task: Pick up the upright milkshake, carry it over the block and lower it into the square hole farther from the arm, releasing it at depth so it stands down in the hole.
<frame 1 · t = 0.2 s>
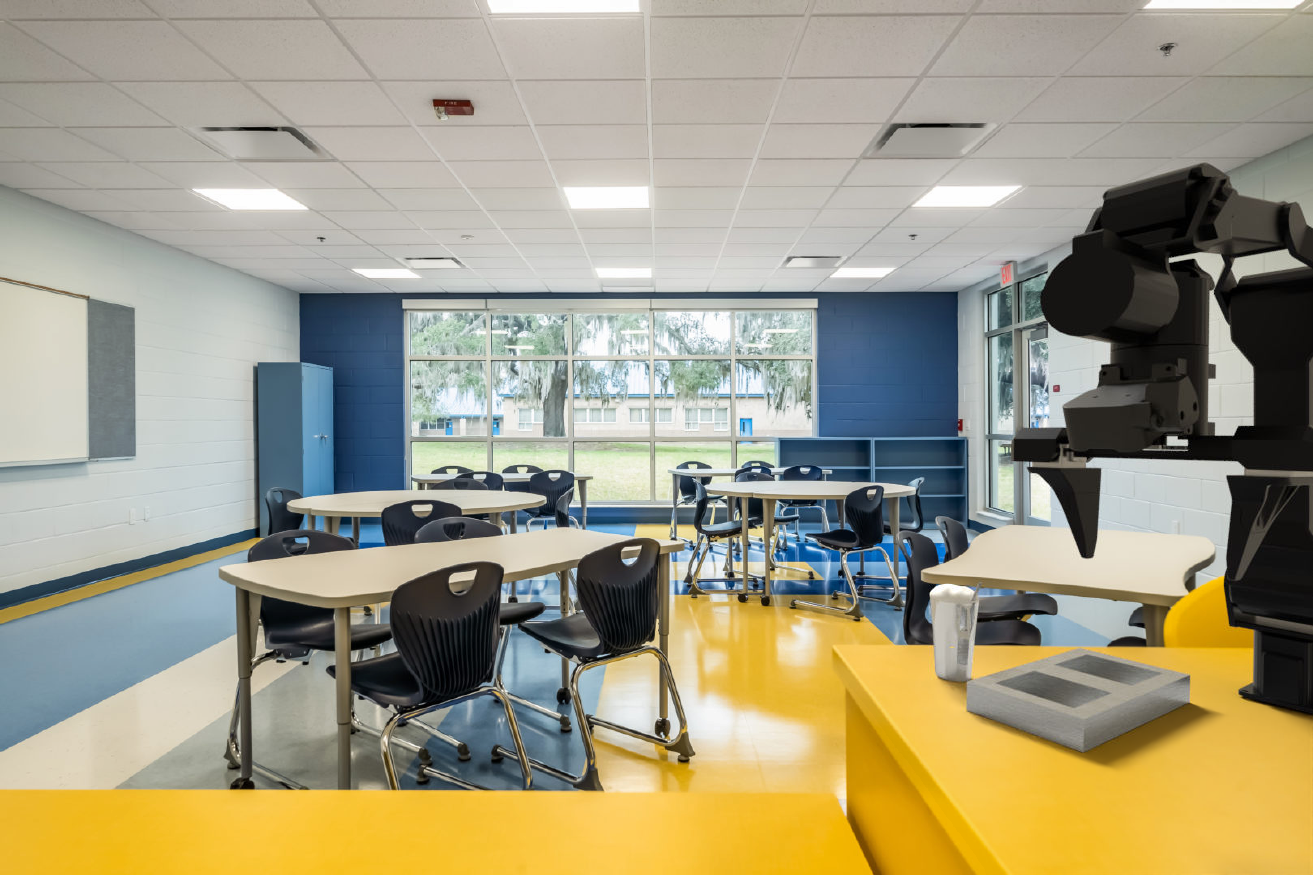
hand: (1154, 568, 49), 15 cm above the table, tool pointing down, fingers open, 9 cm apart
block: (1080, 705, 61), on the table
milkshake: (956, 679, 68), on the table
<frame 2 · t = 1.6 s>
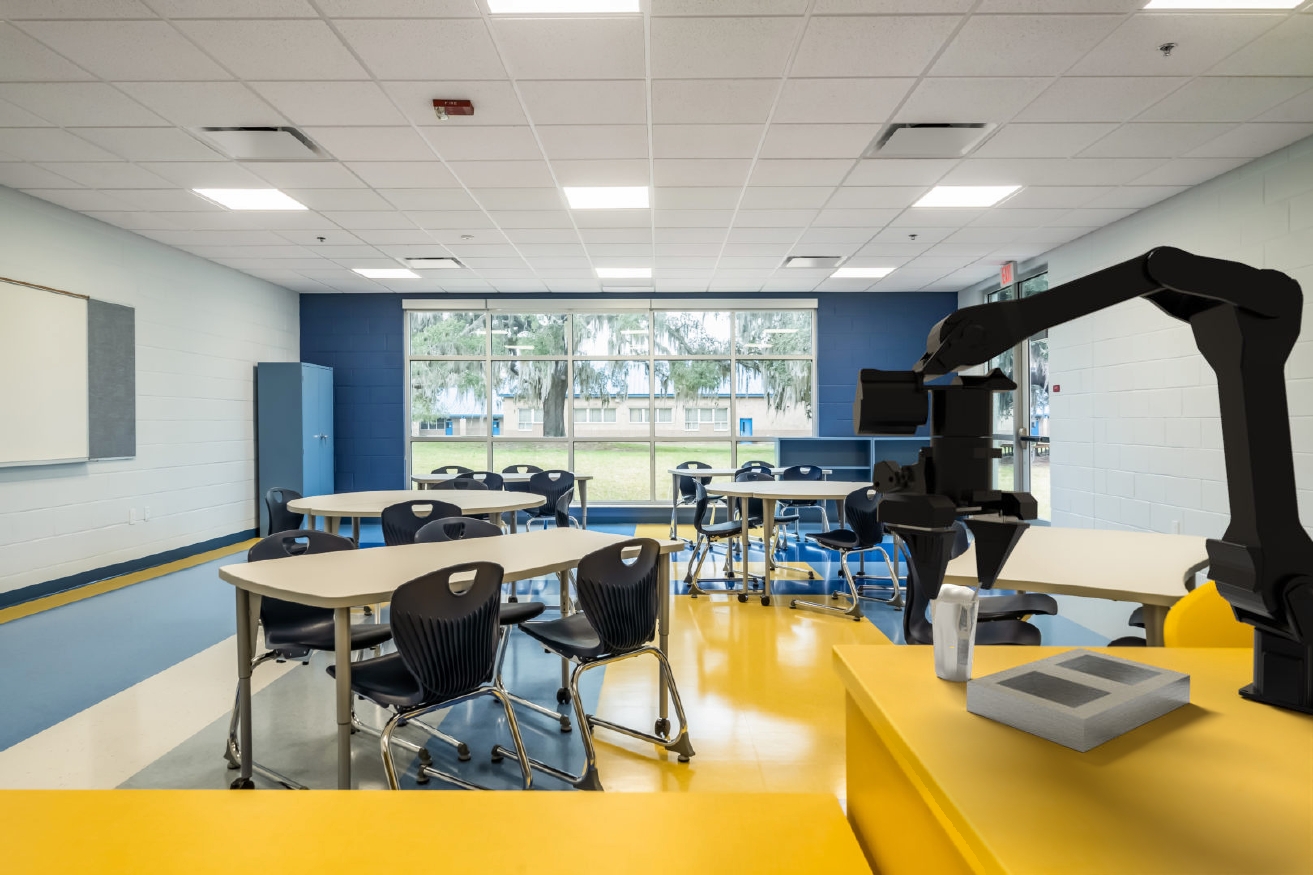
hand: (958, 593, 68), 8 cm above the table, tool pointing down, fingers open, 9 cm apart
nothing on the table moved.
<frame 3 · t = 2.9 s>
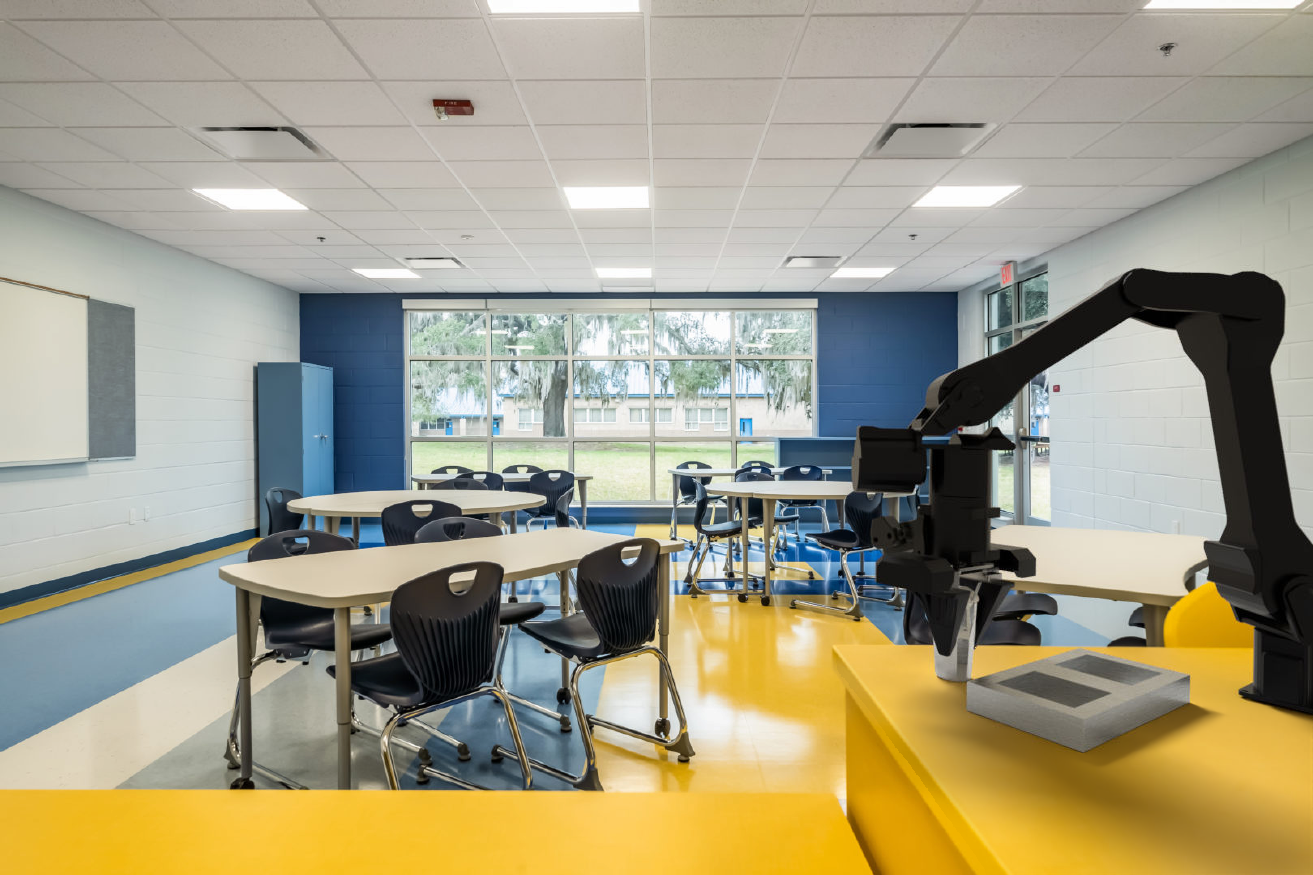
hand: (956, 652, 68), 3 cm above the table, tool pointing down, fingers closed on milkshake, 4 cm apart
milkshake: (956, 679, 68), on the table, touching gripper
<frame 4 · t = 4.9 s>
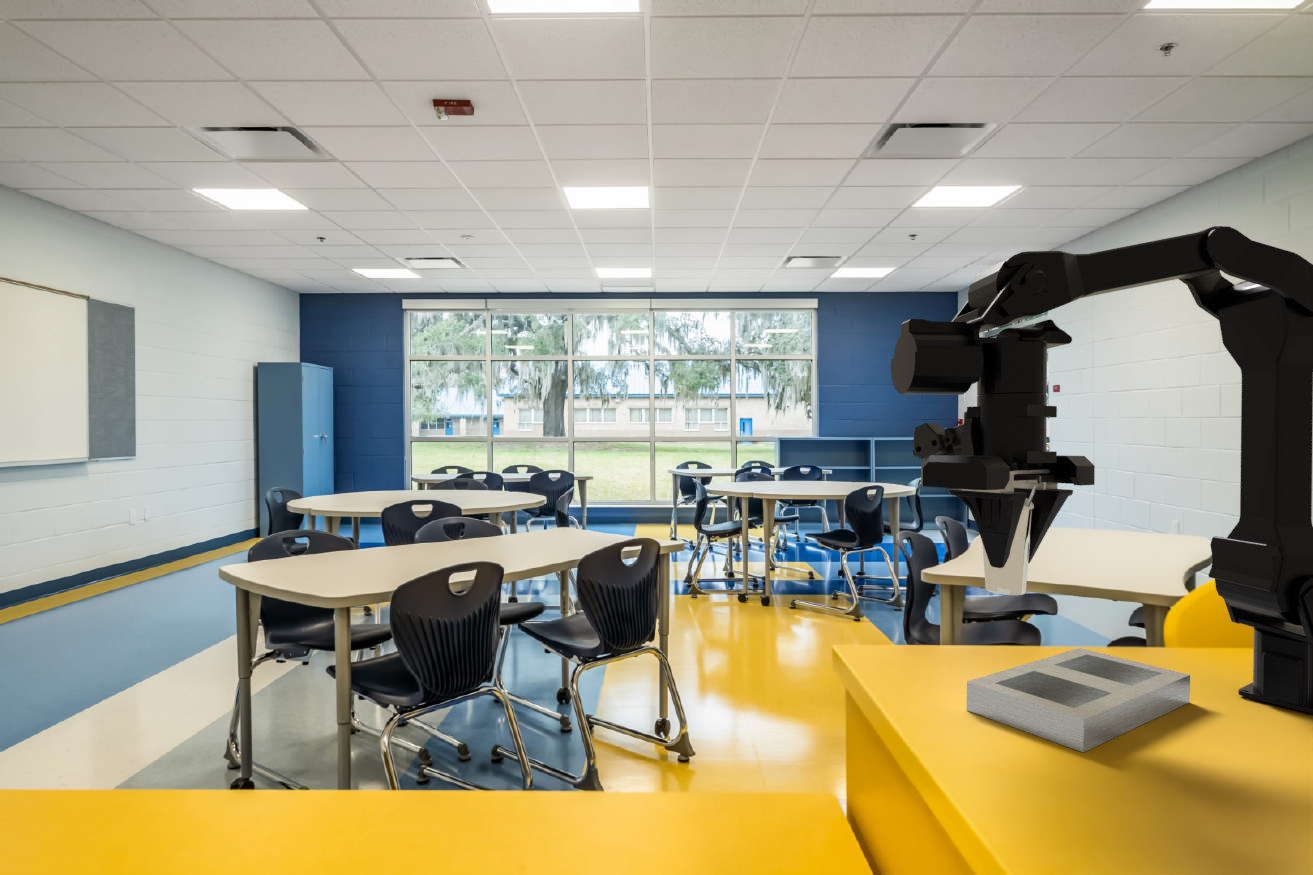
hand: (1010, 565, 63), 12 cm above the table, tool pointing down, fingers closed on milkshake, 4 cm apart
milkshake: (1009, 594, 63), point 9 cm above the table, touching gripper
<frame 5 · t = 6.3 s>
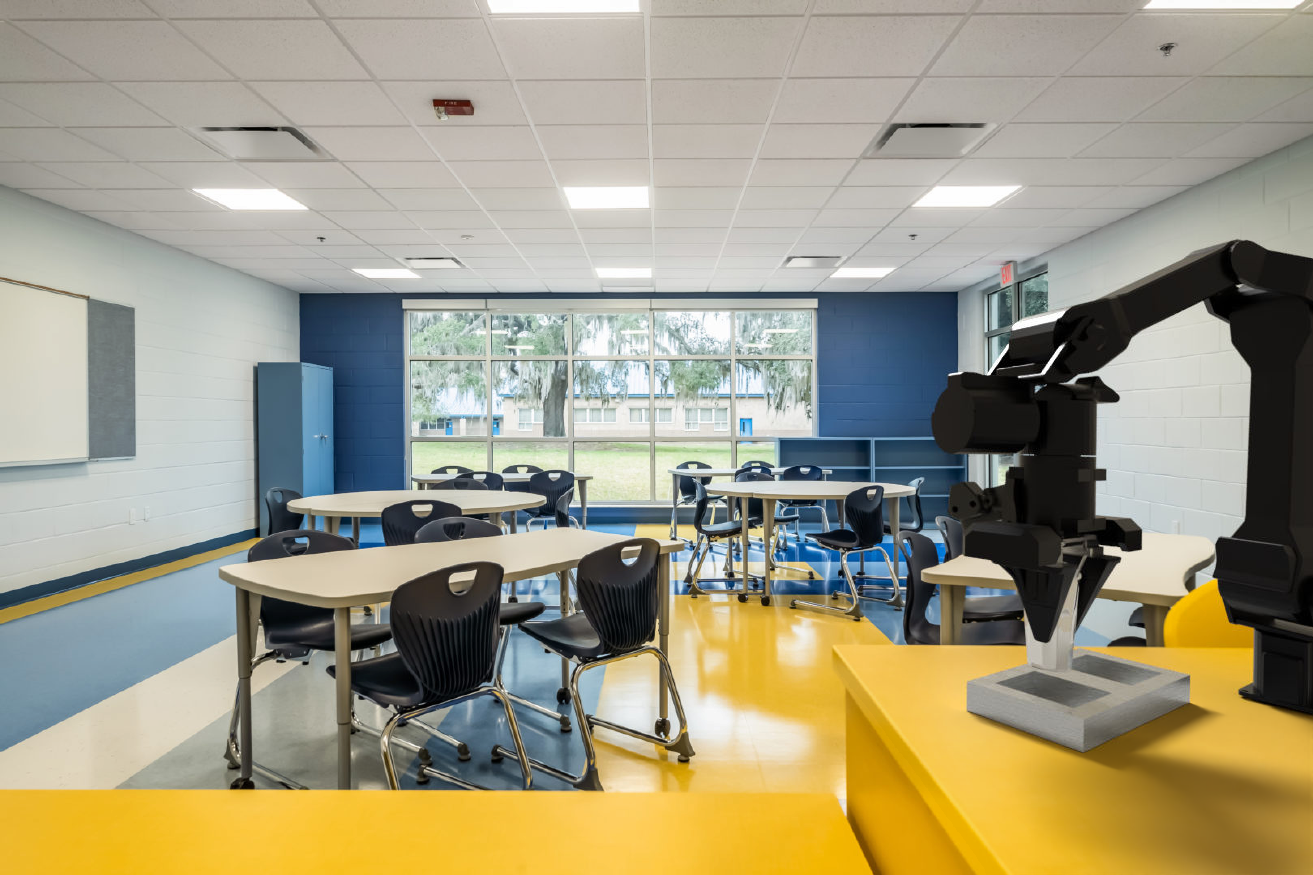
hand: (1054, 638, 59), 7 cm above the table, tool pointing down, fingers closed on milkshake, 4 cm apart
milkshake: (1053, 670, 59), point 4 cm above the table, touching gripper
when the fingers open (4 cm above the table, at t = 7.1 s): milkshake drops 1 cm, resting in block.
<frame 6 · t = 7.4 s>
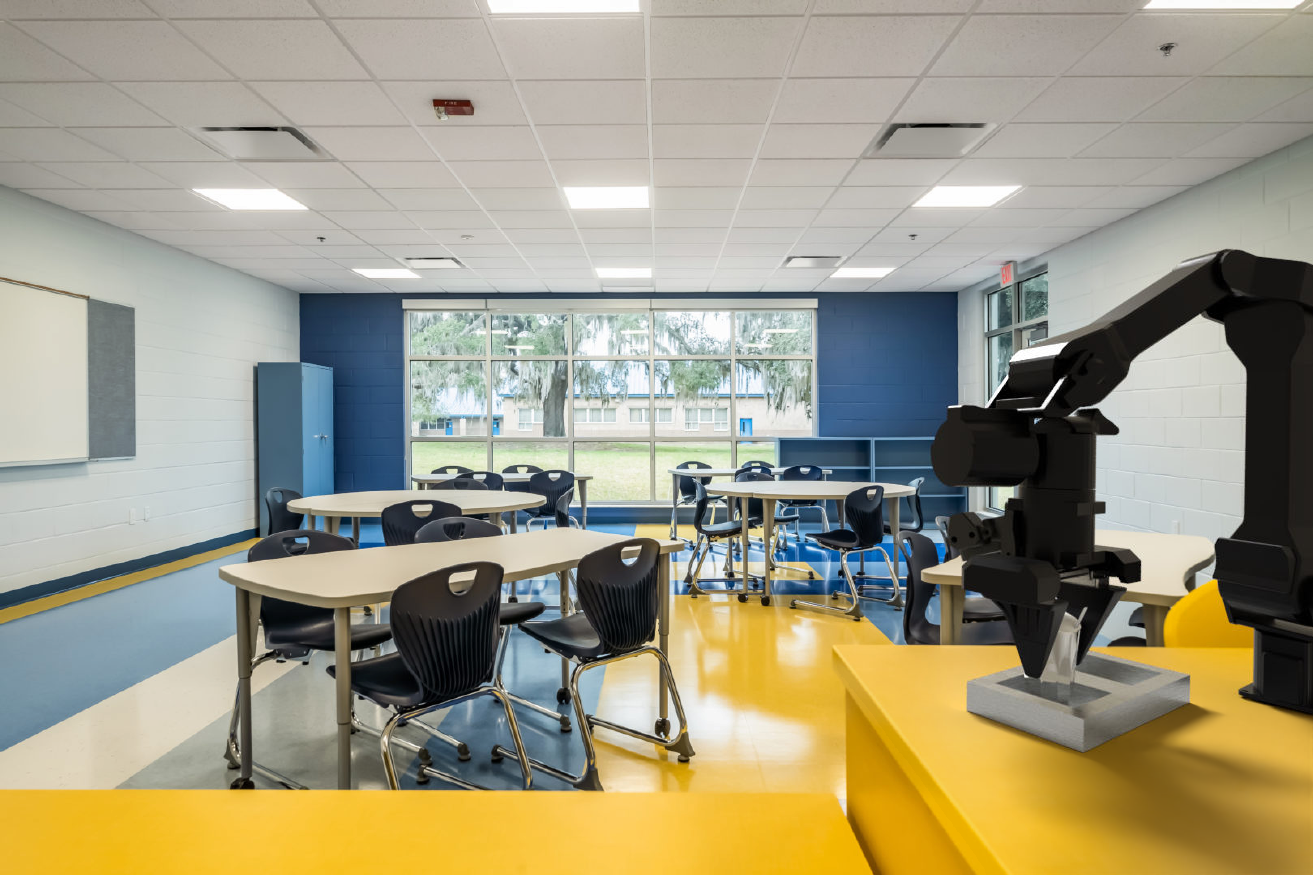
hand: (1053, 670, 59), 4 cm above the table, tool pointing down, fingers open, 6 cm apart
milkshake: (1052, 719, 59), resting in block
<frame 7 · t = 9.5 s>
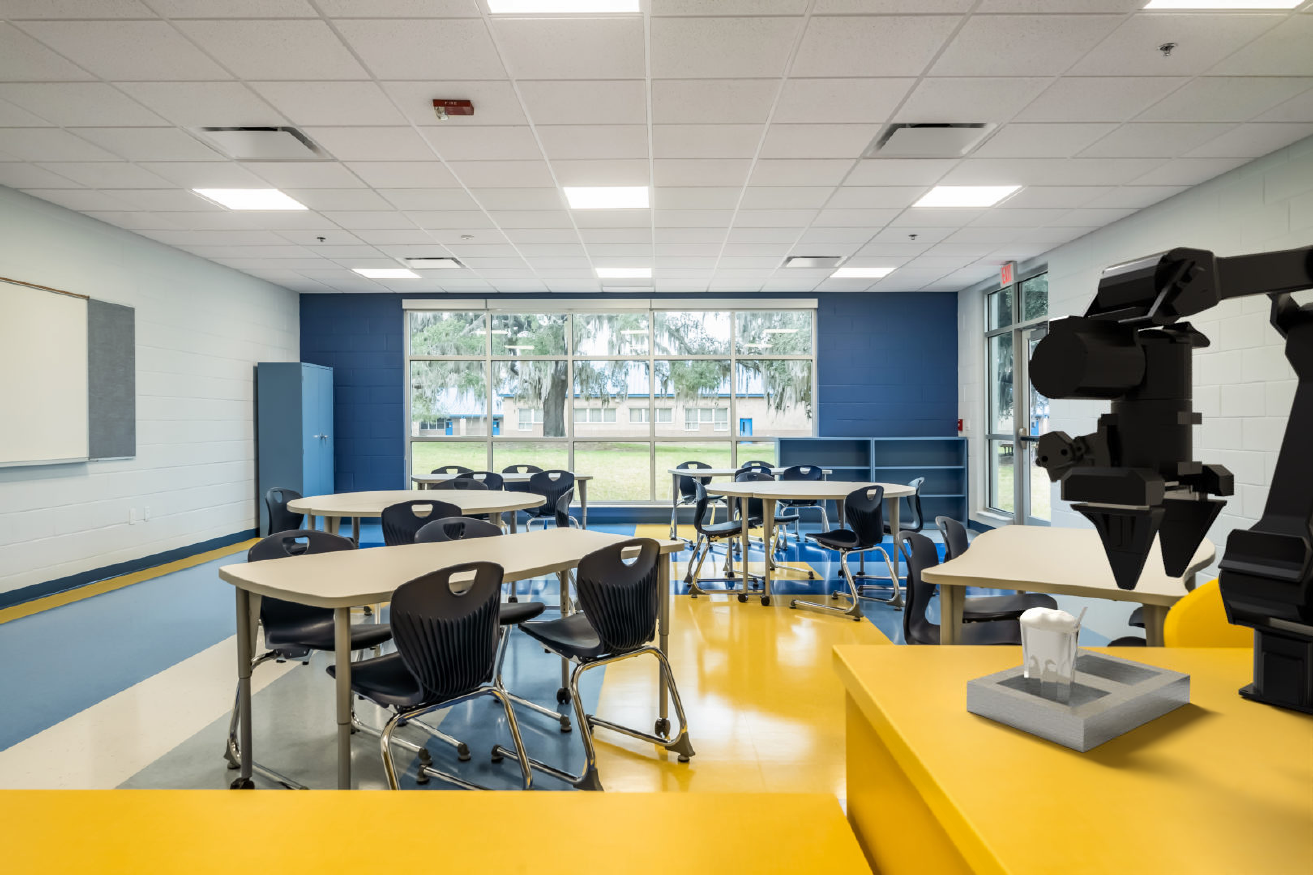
hand: (1150, 583, 59), 12 cm above the table, tool pointing down, fingers open, 9 cm apart
nothing on the table moved.
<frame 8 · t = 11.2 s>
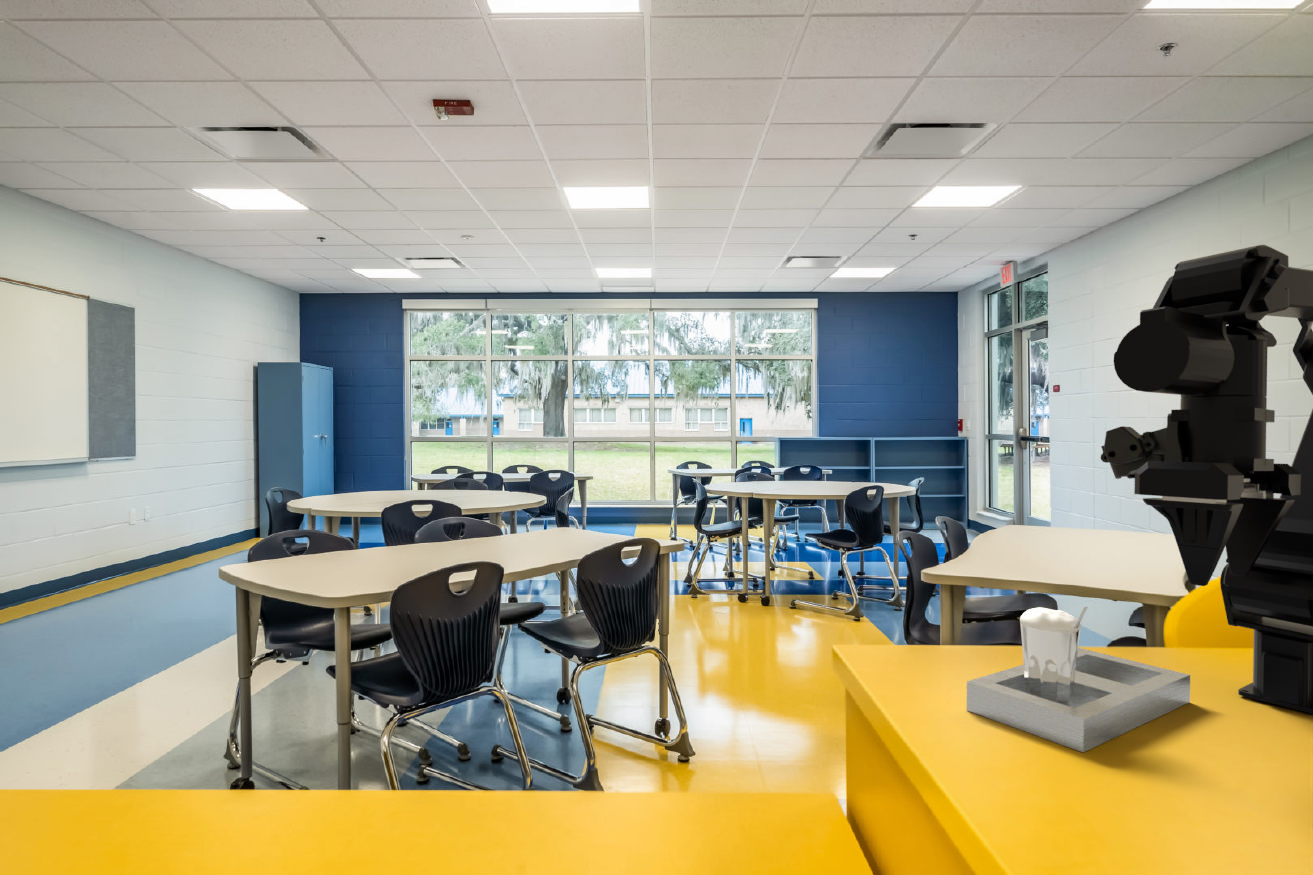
hand: (1219, 579, 59), 12 cm above the table, tool pointing down, fingers open, 9 cm apart
nothing on the table moved.
at the end: milkshake 0.0 cm from the target spot on the block, point 0.0 cm above the block's base; the gripper is holding nothing; milkshake tilted 0° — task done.
